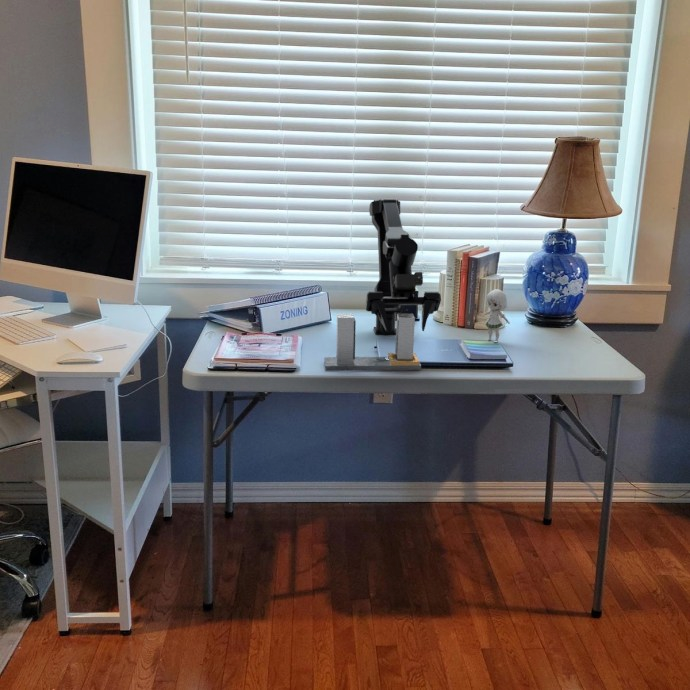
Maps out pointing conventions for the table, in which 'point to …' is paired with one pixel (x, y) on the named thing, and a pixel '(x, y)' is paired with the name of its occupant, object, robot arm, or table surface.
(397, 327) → the gray block
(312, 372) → the table surface
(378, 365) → the rail
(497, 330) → the figurine
